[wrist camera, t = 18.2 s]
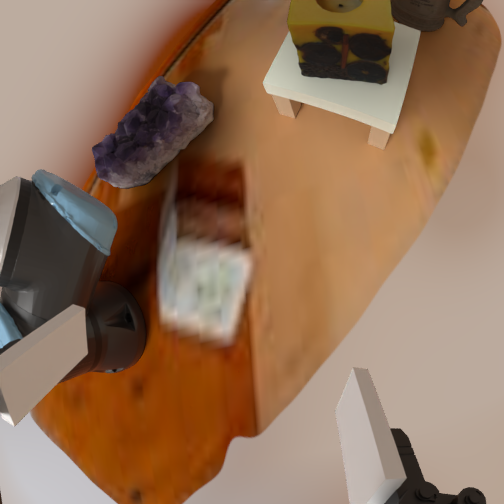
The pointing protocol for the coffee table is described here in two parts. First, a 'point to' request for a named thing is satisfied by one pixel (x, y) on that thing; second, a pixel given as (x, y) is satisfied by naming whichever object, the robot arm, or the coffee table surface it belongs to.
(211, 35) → the coffee table surface
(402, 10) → the beer stein
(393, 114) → the footstool
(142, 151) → the geode
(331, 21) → the candle
